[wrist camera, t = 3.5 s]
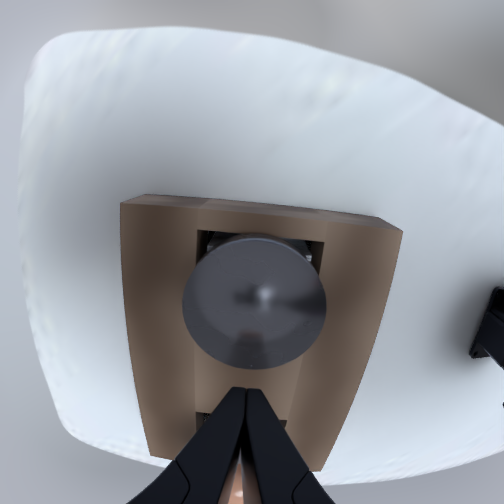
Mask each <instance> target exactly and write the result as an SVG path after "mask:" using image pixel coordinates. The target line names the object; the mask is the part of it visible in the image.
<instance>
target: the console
mask: <svg viewBox="0 0 504 504" xmlns="http://www.w3.org/2000/svg"><path fill="white" fill-rule="evenodd" d="M208 230H209V231H220V232H231V233H241V234H249V233H261V234H268V235H272V236H276V237H282V238H291V239H301V240H311V244H310V250H309V251H310V253H311V255H312V258H311V263H312V264H313V266H314V268H315V270H316V272H317V274H318V276H319V278H320V280H321V283H322V285H323V288H324V291H325V295H326V301H327V311H326V318H325V322H324V325H323V328H322V330H321V332H320V334H319V336H318V337H317V339H316V341H315V342H314V343H313V344H312V345H311V347H310V348H309V349H308V350H307V351H305V352H304V353H303V354H302V355H300V356H299V357H298V358H296V359H294V360H292V361H291V362H289V363H286V364H284V365H281V366H278V367H274V368H269V369H261V370H249V369H241V368H236V367H233V366H229V365H227V364H224V363H222V362H220V361H218V360H216V359H214V358H213V357H211V356H210V355H208V354H207V353H206V352H205V351H203V350H202V349H201V348H200V347H199V346H198V345H197V344H196V342H195V341H194V339H193V338H192V337H191V335H190V333H189V331H188V329H187V327H186V324H185V322H184V317H183V312H182V297H183V292H184V288H185V286H186V283H187V280H188V279H189V277H190V275H191V273H192V272H193V270H194V268H195V267H196V265H197V263H198V262H199V260H200V259H201V258H202V256H203V255H204V254H205V253H206V252H207V245H208ZM402 234H403V231H402V230H400V229H398V228H397V227H395V226H393V225H391V224H390V223H388V222H386V221H384V220H382V219H381V218H378V217H372V216H365V215H357V214H350V213H343V212H335V211H327V210H319V209H311V208H302V207H293V206H284V205H275V204H265V203H255V202H244V201H233V200H222V199H209V198H196V197H182V196H167V195H150V194H144V195H142V196H139V197H136V198H133V199H130V200H127V201H124V202H122V203H120V240H121V265H122V282H123V295H124V307H125V317H126V326H127V335H128V343H129V350H130V357H131V364H132V370H133V376H134V382H135V388H136V393H137V399H138V404H139V409H140V413H141V418H142V423H143V427H144V432H145V436H146V440H147V444H148V448H149V452H150V456H155V457H159V458H164V459H169V460H174V458H175V457H176V456H177V455H178V453H179V452H180V451H181V450H182V449H183V447H184V446H185V445H186V444H187V443H188V441H189V440H190V439H191V438H192V436H193V435H194V434H195V433H196V432H197V430H198V429H199V428H200V427H201V425H202V424H203V423H204V413H210V414H211V413H212V412H213V410H214V409H215V408H216V407H217V405H218V404H219V403H220V401H221V400H222V399H223V397H224V396H225V395H226V394H227V392H228V391H229V390H230V388H231V387H233V386H235V387H244V388H246V390H247V388H258V389H261V390H262V391H263V393H264V395H265V397H266V398H267V400H268V402H269V403H270V405H271V407H272V409H273V410H274V412H275V414H276V415H277V417H278V419H279V420H280V422H281V424H282V425H283V427H284V429H285V430H286V432H287V433H288V435H289V437H290V438H291V440H292V442H293V443H294V445H295V446H296V448H297V450H298V451H299V453H300V454H301V456H302V458H303V459H304V461H305V462H306V464H307V465H308V467H309V469H310V470H309V471H312V472H317V471H321V470H322V468H323V466H324V464H325V462H326V460H327V458H328V456H329V454H330V452H331V450H332V448H333V446H334V444H335V441H336V439H337V437H338V435H339V433H340V431H341V428H342V426H343V424H344V421H345V419H346V417H347V414H348V412H349V410H350V407H351V405H352V402H353V400H354V397H355V395H356V392H357V390H358V387H359V385H360V382H361V379H362V377H363V374H364V371H365V368H366V366H367V363H368V360H369V357H370V354H371V351H372V348H373V345H374V342H375V339H376V336H377V333H378V329H379V326H380V323H381V320H382V316H383V313H384V309H385V306H386V302H387V298H388V295H389V291H390V287H391V283H392V279H393V275H394V271H395V267H396V262H397V258H398V253H399V249H400V244H401V239H402Z"/></svg>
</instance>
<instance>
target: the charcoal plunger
mask: <svg viewBox="0 0 504 504" xmlns="http://www.w3.org/2000/svg"><path fill="white" fill-rule="evenodd" d="M311 258H312V255H311V253H310V251H309V249H308V247H307V245H306V243H305V241H304V240H301V239H291V238H282V237H276V236H272V235H268V234H261V233H249V234H241V233H231V232H220V231H216V232H215V234H214V236H213V237H212V239H211V240H210V242H209V244H208V245H207V252H206V253H205V254H204V255H203V256H202V258H201V259H200V260H199V262H198V263H197V265H196V267H195V268H194V270H193V272H192V273H191V275H190V277H189V279H188V280H187V283H186V286H185V288H184V292H183V297H182V312H183V317H184V322H185V324H186V327H187V329H188V331H189V333H190V335H191V337H192V338H193V339H194V341H195V342H196V344H197V345H198V346H199V347H200V348H201V349H202V350H203V351H205V352H206V353H207V354H208V355H210V356H211V357H213V358H214V359H216V360H218V361H220V362H222V363H224V364H227V365H229V366H233V367H236V368H241V369H249V370H261V369H269V368H274V367H278V366H281V365H284V364H286V363H289V362H291V361H292V360H294V359H296V358H298V357H299V356H300V355H302V354H303V353H304V352H305V351H307V350H308V349H309V348H310V347H311V345H312V344H313V343H314V342H315V341H316V339H317V337H318V336H319V334H320V332H321V330H322V328H323V325H324V322H325V318H326V311H327V301H326V295H325V291H324V288H323V285H322V283H321V280H320V278H319V276H318V274H317V272H316V270H315V268H314V266H313V264H312V263H311Z"/></svg>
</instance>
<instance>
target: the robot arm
mask: <svg viewBox="0 0 504 504" xmlns="http://www.w3.org/2000/svg"><path fill="white" fill-rule="evenodd" d="M469 355H470V356H471V358H473V359H474V358H482V357H490V356H491V357H492V358H493V360H494V361H495V362H496V363H497V364H498V365H499V366H500V367H502V368H503V370H504V287H496V288H495V289H494V290H493V292H492V295H491V298H490V301H489V304H488V307H487V310H486V313H485V315H484V318H483V321H482V323H481V326H480V328H479V331H478V333H477V336H476V338H475V340H474V343H473V345H472V347H471V350H470V352H469ZM503 407H504V402H503ZM240 450H241V455H240ZM240 456H241V475H242V489H243V503H244V504H335V503H334V501H333V500H332V499H331V498H330V497H329V496H328V494H327V493H326V492H325V491H324V489H323V488H322V486H321V485H320V483H319V482H318V481H317V479H316V478H315V476H314V474H313V473H312V471H309V470H310V469H309V467H308V465H307V464H306V462H305V461H304V459H303V458H302V456H301V454H300V453H299V451H298V450H297V448H296V446H295V445H294V443H293V442H292V440H291V438H290V437H289V435H288V433H287V432H286V430H285V429H284V427H283V425H282V424H281V422H280V420H279V419H278V417H277V415H276V414H275V412H274V410H273V409H272V407H271V405H270V403H269V402H268V400H267V398H266V397H265V395H264V393H263V391H262V390H261V389H258V388H247V390H246V388H244V387H235V386H233V387H231V388H230V390H229V391H228V392H227V394H226V395H225V396H224V397H223V399H222V400H221V401H220V403H219V404H218V405H217V407H216V408H215V409H214V410H213V412H212V413H211V414H210V415H209V417H208V418H207V419H206V420H205V422H204V423H203V424H202V425H201V427H200V428H199V429H198V430H197V432H196V433H195V434H194V435H193V436H192V438H191V439H190V440H189V441H188V443H187V444H186V445H185V446H184V447H183V449H182V450H181V451H180V452H179V453H178V455H177V456H176V457H175V458H174V460H172V461H171V463H170V464H169V465H168V466H167V467H166V468H165V470H164V471H163V472H162V473H161V474H160V475H159V476H158V477H157V478H156V479H155V480H154V481H153V482H152V483H151V484H150V485H148V486H147V487H146V488H145V489H144V490H143V491H142V492H140V493H139V494H138V495H137V496H135V497H134V498H133V499H132V500H130V501H129V502H128V503H126V504H228V502H229V498H230V494H231V490H232V486H233V482H234V478H235V474H236V470H237V466H238V462H239V457H240Z"/></svg>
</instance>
